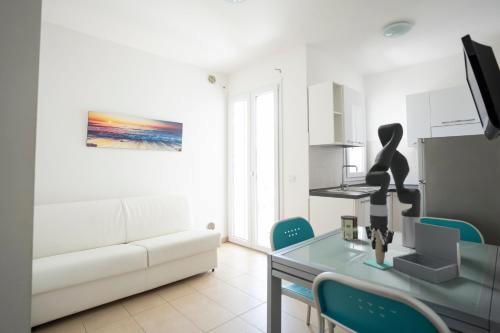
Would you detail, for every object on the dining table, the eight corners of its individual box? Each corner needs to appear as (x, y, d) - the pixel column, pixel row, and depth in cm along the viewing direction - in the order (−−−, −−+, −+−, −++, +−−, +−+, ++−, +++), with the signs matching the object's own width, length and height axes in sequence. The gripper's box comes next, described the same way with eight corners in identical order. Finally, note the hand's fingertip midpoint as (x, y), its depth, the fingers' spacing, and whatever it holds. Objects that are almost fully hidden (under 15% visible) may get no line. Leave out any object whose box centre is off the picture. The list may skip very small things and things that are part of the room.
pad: (377, 259, 127) (377, 258, 127) (396, 266, 118) (396, 264, 118) (363, 262, 123) (363, 261, 123) (382, 270, 114) (381, 268, 114)
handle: (372, 260, 124) (372, 229, 125) (387, 262, 121) (387, 230, 122) (372, 263, 120) (372, 231, 120) (387, 266, 117) (388, 232, 117)
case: (417, 262, 123) (415, 222, 123) (463, 276, 106) (462, 229, 106) (393, 268, 116) (392, 225, 116) (439, 284, 99) (437, 234, 99)
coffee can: (354, 236, 173) (353, 215, 173) (360, 240, 163) (360, 218, 163) (338, 236, 173) (338, 215, 174) (344, 240, 163) (343, 218, 163)
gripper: (398, 215, 116) (399, 253, 116) (371, 211, 129) (372, 245, 129) (387, 217, 113) (388, 256, 113) (360, 212, 126) (361, 247, 126)
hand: (379, 250), depth 121 cm, fingers open, 4 cm apart
